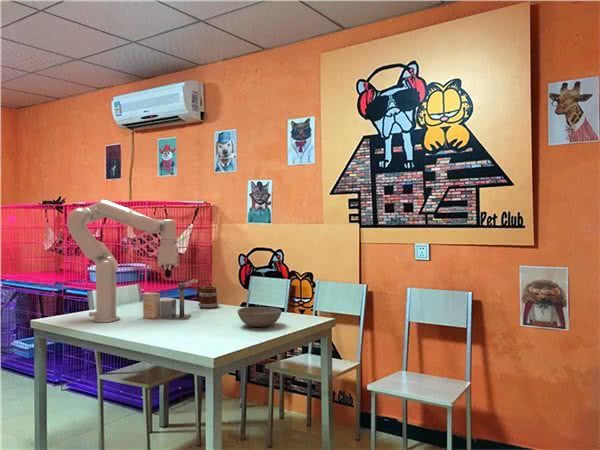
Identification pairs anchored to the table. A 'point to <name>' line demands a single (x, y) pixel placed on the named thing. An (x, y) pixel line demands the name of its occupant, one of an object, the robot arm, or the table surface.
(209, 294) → the brown wooden barrel
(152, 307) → the supplement box
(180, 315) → the post
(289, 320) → the table surface
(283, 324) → the table surface
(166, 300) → the block
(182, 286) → the bar
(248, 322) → the bowl
